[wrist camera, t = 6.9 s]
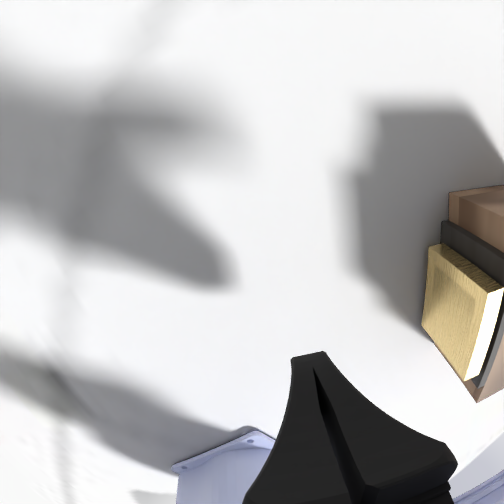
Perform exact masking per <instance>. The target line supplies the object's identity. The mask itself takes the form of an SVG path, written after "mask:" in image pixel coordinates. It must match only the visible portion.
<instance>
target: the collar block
mask: <svg viewBox="0 0 504 504" xmlns="http://www.w3.org/2000/svg"><path fill="white" fill-rule="evenodd" d="M442 243H444V244H446V245H447V246H448V247H450V248H451V249H453V250H454V251H456V252H457V253H458V254H460V255H461V256H463V257H464V258H465V259H467V260H468V261H470V262H471V263H472V264H474V265H475V266H476V267H478V268H479V269H480V270H482V271H483V272H484V273H486V274H487V275H488V276H490V277H491V278H492V279H494V280H495V281H496V282H497V283H499V284H500V285H501V286H502V287H504V185H499V186H492V187H484V188H477V189H470V190H463V191H456V192H450V193H449V220H447V221H442V228H441V244H442ZM434 345H435V346H436V347H437V348H438V350H439V351H440V352H441V354H442V355H443V356H444V358H445V359H446V361H447V362H448V363H449V365H450V366H451V367H452V369H453V370H454V371H455V373H456V374H457V376H458V377H459V378H460V380H461V381H462V383H463V384H464V385H465V387H466V388H467V390H468V391H469V393H470V394H471V396H472V397H473V398H474V400H475V401H476V403H478V402H480V401H482V400H484V399H485V398H487V397H489V396H491V395H493V394H495V393H496V392H498V391H500V390H502V389H503V388H504V290H503V295H502V299H501V303H500V308H499V312H498V315H497V319H496V323H495V326H494V330H493V333H492V337H491V340H490V343H489V346H488V349H487V352H486V355H485V358H484V361H483V364H482V367H481V370H480V372H479V375H477V376H475V377H472V378H470V379H468V380H466V381H463V380H462V378H461V377H460V376H459V374H458V373H457V371H456V370H455V369H454V367H453V366H452V365H451V363H450V362H449V361H448V359H447V358H446V357H445V355H444V354H443V353H442V351H441V350H440V349H439V347H438V346H437V345H436V343H434Z"/></svg>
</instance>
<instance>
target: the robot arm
mask: <svg viewBox="0 0 504 504" xmlns="http://www.w3.org/2000/svg"><path fill="white" fill-rule="evenodd" d="M291 368H292V375H291V386H290V392H289V398H288V403H287V407H286V411H285V415H284V418H283V422H282V425H281V428H280V431H279V433H278V436H277V438H276V441H275V440H273V439H272V438H270V437H268V436H266V435H265V434H263V433H261V432H259V431H253V432H250V433H248V434H246V435H244V436H242V437H239V438H237V439H235V440H233V441H231V442H229V443H226V444H224V445H222V446H219V447H217V448H215V449H212V450H210V451H208V452H205V453H203V454H200V455H198V456H195V457H193V458H190V459H188V460H185V461H182V462H180V463H177V464H174V465H172V468H171V470H172V471H173V472H175V473H178V474H179V479H178V488H177V498H176V504H504V470H502V471H501V472H500V473H498V474H496V475H495V476H493V477H491V478H490V479H488V480H487V481H485V482H483V483H482V484H480V485H478V486H476V487H475V488H473V489H471V490H469V491H467V492H466V493H464V494H462V495H460V496H458V497H456V498H454V499H452V498H451V495H450V493H449V490H450V489H451V487H450V485H449V482H448V480H449V478H450V477H451V476H452V474H453V473H454V471H455V470H456V468H457V465H458V463H457V460H456V458H455V456H454V455H453V453H452V452H451V450H450V449H449V448H448V447H447V445H446V444H445V443H443V442H441V441H438V440H435V439H433V438H430V437H428V436H425V435H423V434H421V433H419V432H417V431H415V430H413V429H411V428H409V427H407V426H406V425H404V424H402V423H400V422H399V421H397V420H395V419H394V418H392V417H391V416H389V415H388V414H386V413H385V412H383V411H382V410H381V409H379V408H378V407H377V406H375V405H374V404H373V403H372V402H370V401H369V400H368V399H367V398H366V397H365V396H364V395H362V394H361V393H360V392H359V391H358V390H357V389H356V388H355V387H354V386H353V385H352V384H351V383H350V382H349V381H348V380H347V379H346V378H345V377H344V375H343V374H342V373H341V372H340V371H339V370H338V368H337V367H336V366H335V365H334V364H333V362H332V361H331V360H330V358H329V357H328V355H327V354H326V352H324V351H321V352H316V353H312V354H307V355H302V356H297V357H293V358H292V359H291Z"/></svg>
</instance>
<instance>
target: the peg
mask: <svg viewBox="0 0 504 504" xmlns="http://www.w3.org/2000/svg"><path fill="white" fill-rule="evenodd" d="M503 290H504V287H502V286H501V285H500V284H499V283H497V282H496V281H495V280H494V279H492V278H491V277H490V276H488V275H487V274H486V273H484V272H483V271H482V270H480V269H479V268H478V267H476V266H475V265H474V264H472V263H471V262H470V261H468V260H467V259H465V258H464V257H463V256H461V255H460V254H458V253H457V252H456V251H454V250H453V249H451V248H450V247H448V246H447V245H446V244H444V243H442V244H438V245H434V246H429V250H428V268H427V280H426V291H425V301H424V310H423V317H422V325H421V326H422V327H423V328H424V329H425V331H426V332H427V333H428V334H429V336H430V337H431V338H432V340H433V341H434V342H435V343H436V345H437V346H438V347H439V349H440V350H441V351H442V353H443V354H444V355H445V357H446V358H447V359H448V361H449V362H450V363H451V365H452V366H453V367H454V369H455V370H456V371H457V373H458V374H459V376H460V377H461V378H462V380H463V381H466V380H468V379H470V378H472V377H475V376H477V375H479V372H480V370H481V367H482V364H483V361H484V358H485V355H486V352H487V349H488V346H489V343H490V340H491V337H492V333H493V330H494V326H495V323H496V319H497V315H498V312H499V308H500V303H501V299H502V295H503Z"/></svg>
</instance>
